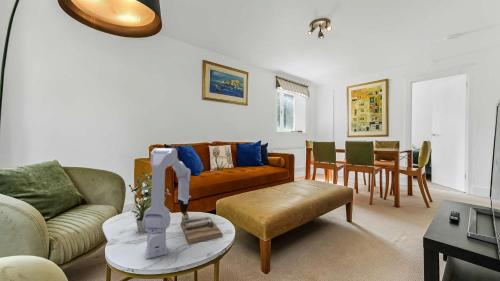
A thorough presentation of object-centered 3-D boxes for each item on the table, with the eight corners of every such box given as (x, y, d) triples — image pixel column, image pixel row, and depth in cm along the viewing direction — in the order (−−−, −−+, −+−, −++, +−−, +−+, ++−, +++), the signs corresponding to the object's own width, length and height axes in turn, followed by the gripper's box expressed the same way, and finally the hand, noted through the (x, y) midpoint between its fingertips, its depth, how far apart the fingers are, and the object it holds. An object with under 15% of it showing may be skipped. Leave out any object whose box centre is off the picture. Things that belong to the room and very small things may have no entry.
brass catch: (188, 218, 107) (188, 215, 107) (183, 219, 105) (183, 215, 105) (186, 215, 111) (186, 211, 111) (182, 216, 110) (182, 212, 110)
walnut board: (221, 236, 98) (221, 226, 98) (188, 244, 91) (188, 233, 90) (209, 220, 117) (209, 212, 117) (180, 225, 110) (180, 216, 110)
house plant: (149, 238, 95) (149, 204, 95) (121, 237, 96) (121, 203, 95) (163, 225, 110) (163, 195, 109) (138, 224, 110) (138, 195, 110)
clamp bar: (212, 223, 105) (212, 220, 105) (186, 228, 99) (186, 225, 99) (210, 221, 108) (210, 218, 108) (185, 226, 102) (185, 222, 102)
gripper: (193, 191, 109) (193, 216, 109) (188, 185, 122) (188, 207, 122) (180, 192, 106) (179, 218, 106) (176, 186, 119) (176, 209, 119)
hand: (183, 213), depth 114 cm, fingers closed
